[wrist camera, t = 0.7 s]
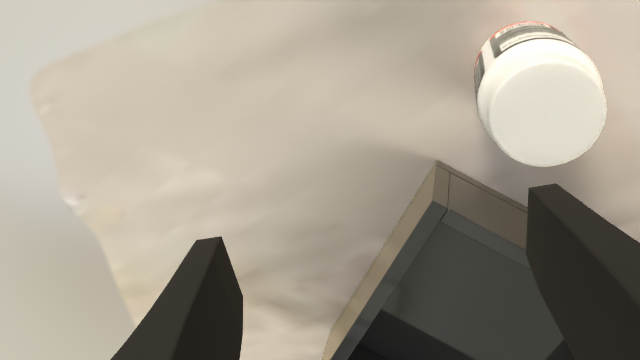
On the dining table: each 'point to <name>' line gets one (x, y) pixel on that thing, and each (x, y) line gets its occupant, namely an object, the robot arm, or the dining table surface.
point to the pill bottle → (538, 94)
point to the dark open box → (450, 284)
